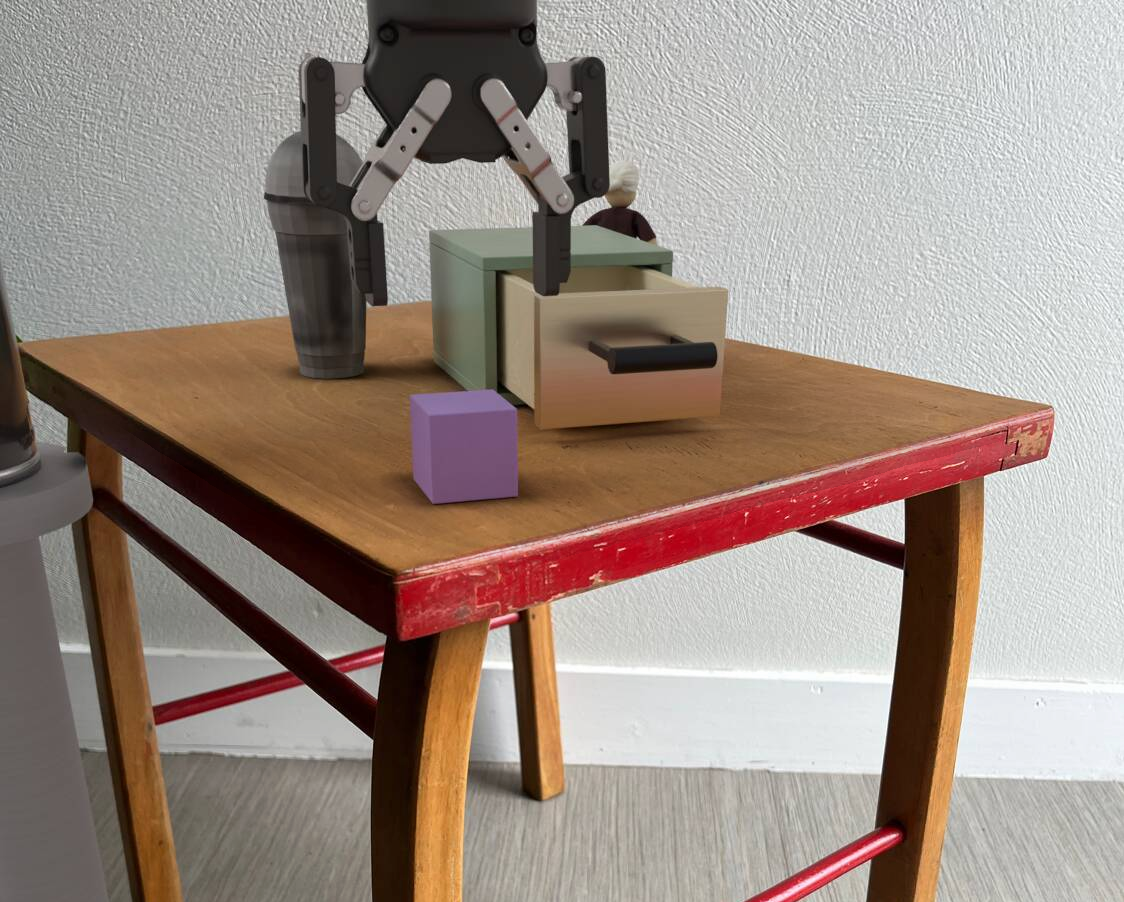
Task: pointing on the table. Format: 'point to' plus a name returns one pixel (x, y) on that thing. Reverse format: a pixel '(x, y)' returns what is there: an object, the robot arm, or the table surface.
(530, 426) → the table surface
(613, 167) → the grandmother figurine
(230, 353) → the table surface
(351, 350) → the beverage cup
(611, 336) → the wooden drawer
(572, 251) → the drawer cabinet
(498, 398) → the purple cube
